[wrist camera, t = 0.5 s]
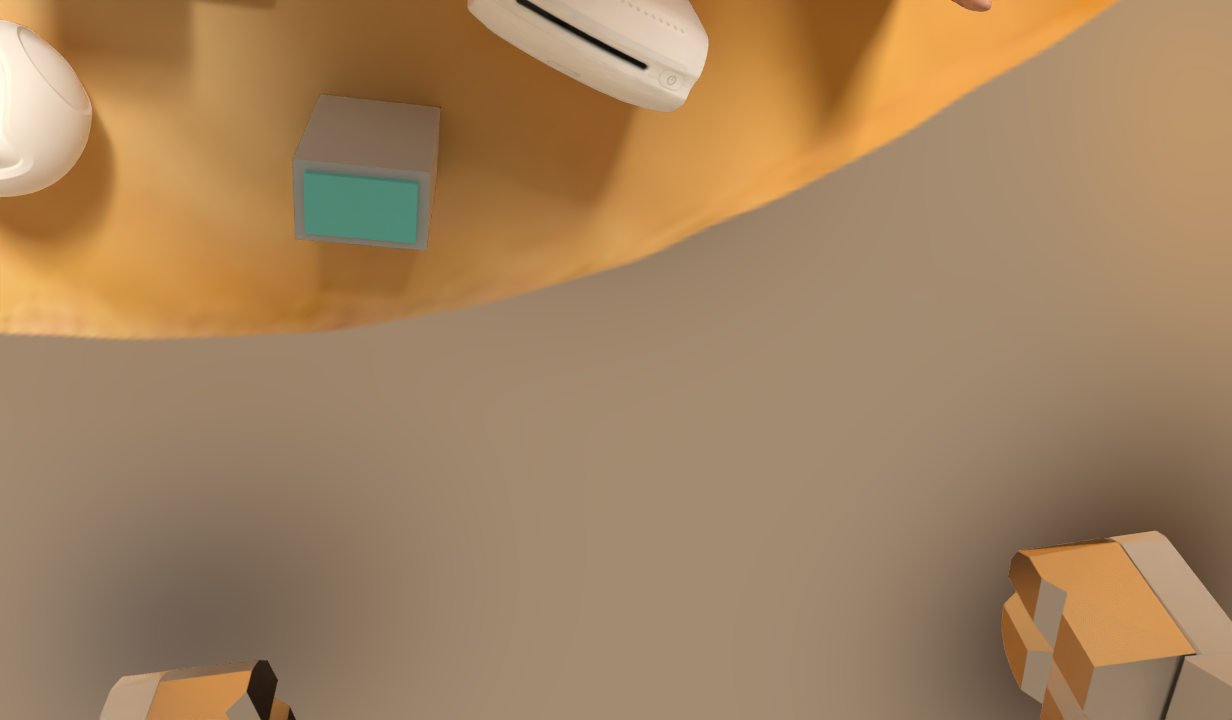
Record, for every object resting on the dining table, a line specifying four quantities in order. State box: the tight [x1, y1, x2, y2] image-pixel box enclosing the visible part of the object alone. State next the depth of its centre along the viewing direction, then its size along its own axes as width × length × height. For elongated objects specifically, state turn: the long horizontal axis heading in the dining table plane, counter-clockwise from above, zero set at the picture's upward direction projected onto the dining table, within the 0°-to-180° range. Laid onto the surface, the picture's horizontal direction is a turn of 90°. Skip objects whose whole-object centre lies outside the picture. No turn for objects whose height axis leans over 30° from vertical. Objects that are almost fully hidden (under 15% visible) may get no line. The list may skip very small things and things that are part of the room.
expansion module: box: [293, 94, 441, 251], centre depth 50 cm, size 4×6×8 cm, turn 82°
